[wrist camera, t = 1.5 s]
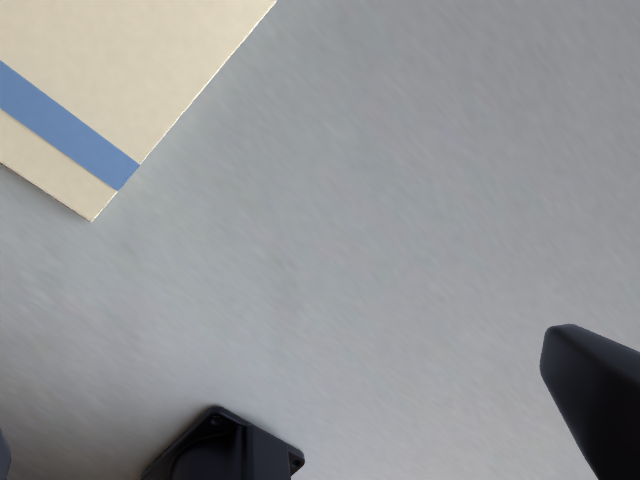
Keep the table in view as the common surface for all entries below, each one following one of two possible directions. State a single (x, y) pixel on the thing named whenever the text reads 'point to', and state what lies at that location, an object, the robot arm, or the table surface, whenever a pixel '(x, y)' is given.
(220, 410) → the robot arm
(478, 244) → the table surface
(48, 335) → the table surface
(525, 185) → the table surface
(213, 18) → the towel
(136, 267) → the table surface
